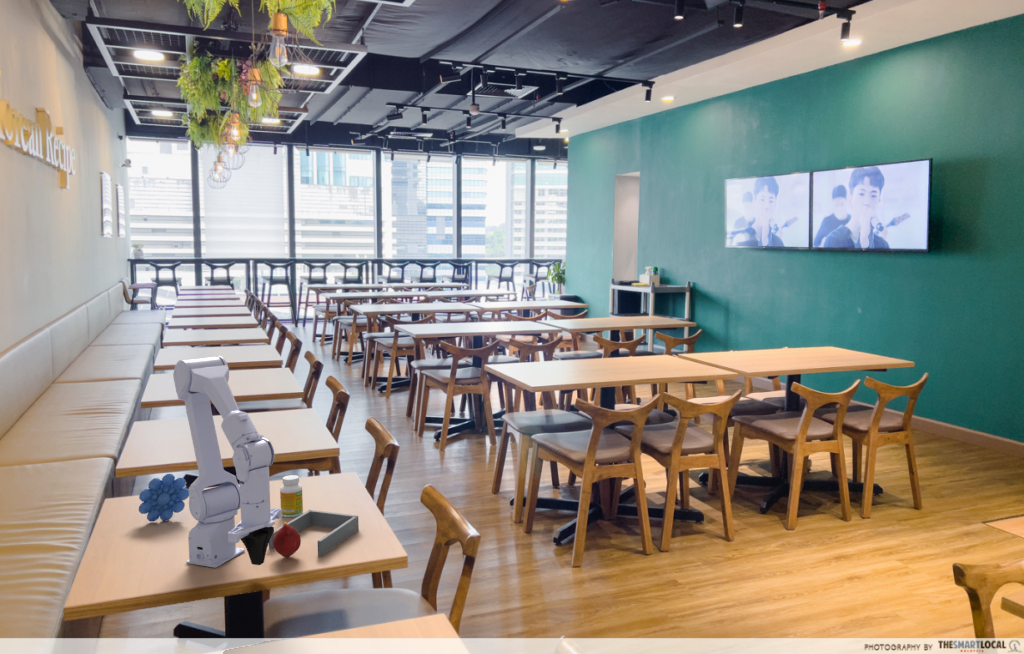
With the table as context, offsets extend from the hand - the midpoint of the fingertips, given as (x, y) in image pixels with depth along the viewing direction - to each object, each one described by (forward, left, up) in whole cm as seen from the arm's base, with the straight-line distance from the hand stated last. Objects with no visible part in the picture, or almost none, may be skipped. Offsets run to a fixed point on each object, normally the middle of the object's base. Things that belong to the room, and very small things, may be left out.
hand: (257, 563), depth 146 cm
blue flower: (+20, +43, -3) cm, 48 cm away
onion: (+10, 0, -3) cm, 10 cm away
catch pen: (+20, 0, -3) cm, 21 cm away
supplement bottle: (+33, +15, -3) cm, 36 cm away
